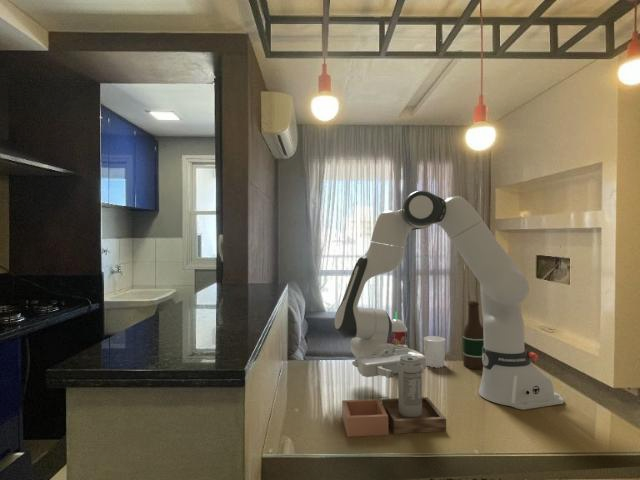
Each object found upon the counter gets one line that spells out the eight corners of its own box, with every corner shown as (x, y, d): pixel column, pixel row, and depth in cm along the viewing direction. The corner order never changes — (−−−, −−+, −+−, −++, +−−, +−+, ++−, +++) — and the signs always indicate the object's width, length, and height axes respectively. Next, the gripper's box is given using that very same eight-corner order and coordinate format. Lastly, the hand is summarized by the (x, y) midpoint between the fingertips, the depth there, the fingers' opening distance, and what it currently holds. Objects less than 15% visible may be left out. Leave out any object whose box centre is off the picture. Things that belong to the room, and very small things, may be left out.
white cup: (446, 369, 137) (446, 341, 137) (424, 367, 139) (424, 340, 139) (444, 362, 145) (444, 336, 145) (423, 361, 146) (422, 335, 146)
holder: (379, 415, 101) (378, 399, 101) (388, 434, 91) (388, 416, 91) (342, 417, 100) (341, 400, 100) (347, 436, 90) (347, 417, 90)
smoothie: (411, 363, 144) (410, 311, 144) (403, 369, 137) (402, 314, 137) (390, 360, 149) (389, 309, 149) (382, 365, 141) (381, 312, 142)
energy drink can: (418, 410, 102) (417, 354, 102) (425, 420, 96) (424, 361, 96) (396, 410, 102) (395, 354, 102) (401, 420, 96) (400, 361, 96)
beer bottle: (458, 364, 142) (457, 301, 142) (474, 362, 145) (473, 299, 145) (474, 371, 134) (473, 304, 135) (490, 368, 138) (489, 302, 138)
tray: (427, 407, 105) (427, 397, 105) (446, 430, 92) (445, 418, 92) (381, 409, 104) (381, 399, 104) (394, 433, 91) (393, 421, 91)
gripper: (349, 350, 110) (371, 365, 97) (410, 344, 117) (437, 356, 104) (349, 372, 110) (371, 389, 97) (410, 364, 117) (437, 379, 104)
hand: (406, 372), depth 101 cm, fingers open, 8 cm apart
